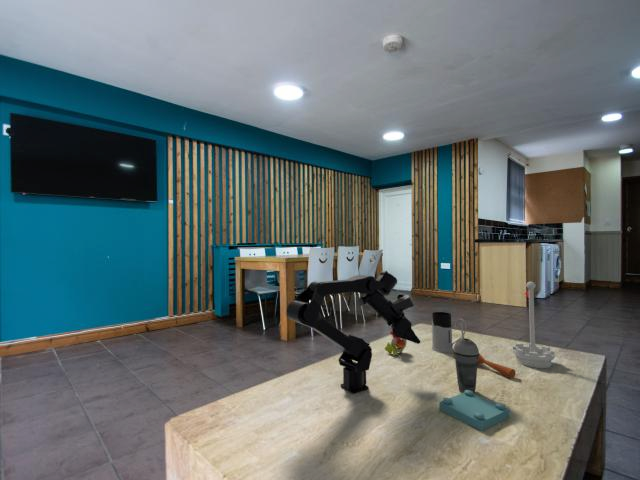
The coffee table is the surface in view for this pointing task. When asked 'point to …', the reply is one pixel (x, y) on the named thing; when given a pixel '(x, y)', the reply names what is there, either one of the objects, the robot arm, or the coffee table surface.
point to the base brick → (474, 410)
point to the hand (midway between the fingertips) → (416, 338)
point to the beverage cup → (466, 363)
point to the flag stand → (533, 341)
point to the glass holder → (442, 332)
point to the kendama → (498, 367)
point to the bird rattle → (396, 345)
